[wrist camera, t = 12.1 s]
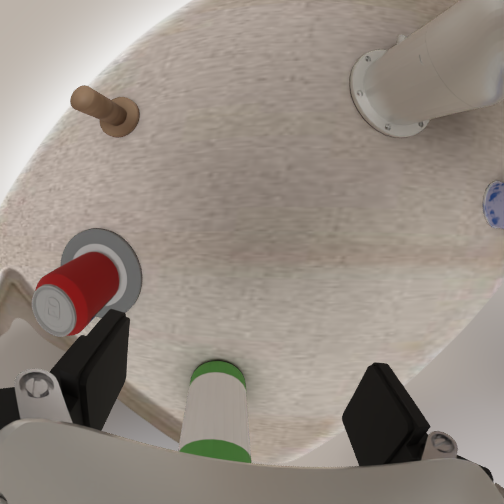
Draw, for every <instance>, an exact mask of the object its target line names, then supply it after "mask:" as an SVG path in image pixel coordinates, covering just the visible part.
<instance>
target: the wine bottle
mask: <svg viewBox="0 0 504 504" xmlns="http://www.w3.org/2000/svg"><path fill="white" fill-rule="evenodd" d="M178 451H179V452H183V453H188V454H193V455H198V456H204V457H209V458H215V459H222V460H229V461H236V462H244V463H251V450H250V437H249V423H248V410H247V396H246V385H245V379H244V377H243V375H242V373H241V372H240V371H239V370H238V369H237V368H236V367H235V366H233V365H232V364H229V363H226V362H222V361H211V362H208V363H204V364H203V365H201V366H199V367H198V368H197V369H196V370H195V371H194V373H193V375H192V377H191V381H190V386H189V391H188V396H187V402H186V408H185V413H184V419H183V425H182V431H181V437H180V443H179V449H178Z"/></svg>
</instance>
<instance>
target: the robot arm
mask: <svg viewBox="0 0 504 504" xmlns="http://www.w3.org/2000/svg"><path fill="white" fill-rule="evenodd" d="M396 43H397V44H396V45H395V46H393V47H392V48H390V49H389V50H386V49H378V50H373V51H370V52H368V53H366V54H364V55H363V56H362V57H361V58H360V59H359V60H358V61H357V62H356V63H355V65H354V67H353V69H352V72H351V76H350V89H351V94H352V97H353V100H354V103H355V105H356V107H357V109H358V111H359V112H360V114H361V115H362V116H363V118H364V119H365V120H366V121H367V122H368V123H369V124H370V125H371V126H372V127H374V128H375V129H376V130H378V131H380V132H381V133H383V134H385V135H388V136H392V137H398V138H403V137H410V136H414V135H416V134H418V133H420V132H421V131H422V130H423V129H424V128H425V127H426V126H427V124H428V123H429V121H430V119H434V118H438V117H442V116H446V115H451V114H455V113H460V112H464V111H469V110H474V109H479V108H484V107H488V106H492V105H495V104H498V103H499V102H501V101H503V100H504V0H460V1H458V2H457V3H455V4H454V5H453V6H451V7H450V8H449V9H447V10H446V11H445V12H443V13H442V14H440V15H439V16H437V17H436V18H434V19H433V20H432V21H430V22H429V23H427V24H426V25H424V26H423V27H421V28H420V29H419V30H417V31H416V32H414V33H413V34H411V35H410V36H409V37H406V36H404V35H401V34H400V35H398V36H397V42H396ZM357 94H359V96H358V95H357ZM385 127H386V129H385ZM129 325H130V319H129V318H127V317H126V314H125V313H124V312H121V311H117V310H114V309H110V310H109V311H108V312H107V313H106V314H105V315H104V316H103V317H102V319H101V320H100V321H99V322H98V323H97V324H96V326H95V327H94V328H93V329H92V330H91V331H90V333H89V334H88V335H87V336H84V335H81V336H80V337H79V338H78V339H77V340H76V341H75V342H74V344H73V345H72V346H71V347H70V348H69V349H68V351H67V352H66V353H65V354H64V355H63V356H62V358H61V359H60V360H59V361H58V362H57V364H56V365H55V366H54V367H53V368H52V369H51V371H50V372H47V371H45V370H41V369H28V370H25V371H23V372H21V373H20V374H19V375H18V376H17V377H16V379H15V387H12V388H3V389H0V504H504V488H503V487H501V486H500V485H499V484H497V483H495V484H494V483H493V477H492V474H491V472H490V470H489V469H487V468H485V467H482V466H480V465H478V464H476V463H474V462H471V461H469V460H467V459H465V458H463V457H461V456H458V455H457V450H458V448H457V444H456V442H455V440H454V439H453V438H452V437H451V436H449V435H448V434H446V433H444V432H440V431H434V432H431V433H430V434H429V435H428V434H427V433H426V432H427V431H428V429H429V428H430V425H429V423H428V422H427V421H426V419H425V417H424V416H423V414H422V413H421V411H420V410H419V408H418V407H417V406H416V404H415V403H414V401H413V400H412V398H411V397H410V395H409V394H408V392H407V391H406V390H405V388H404V386H403V385H402V384H401V382H400V381H399V379H398V378H397V376H396V375H395V374H394V372H393V371H392V369H391V368H390V366H389V365H388V364H385V363H373V364H372V365H371V366H369V367H368V368H367V370H366V372H365V374H364V376H363V378H362V380H361V382H360V383H359V385H358V387H357V389H356V391H355V393H354V395H353V397H352V398H351V400H350V402H349V404H348V406H347V407H346V409H345V411H344V413H343V416H342V421H343V424H344V426H345V429H346V432H347V434H348V437H349V439H350V442H351V445H352V448H353V450H354V453H355V456H356V458H357V461H358V463H359V466H357V467H356V466H355V467H292V466H276V465H264V464H253V463H244V462H236V461H229V460H222V459H215V458H209V457H204V456H198V455H193V454H188V453H183V452H179V451H174V450H169V449H165V448H161V447H157V446H153V445H149V444H145V443H142V442H138V441H134V440H130V439H127V438H124V437H120V436H117V435H113V434H110V433H107V432H103V431H101V430H102V428H103V426H104V424H105V422H106V420H107V418H108V416H109V413H110V411H111V409H112V407H113V405H114V403H115V401H116V399H117V397H118V395H119V393H120V391H121V389H122V387H123V385H124V382H125V379H126V370H127V352H128V337H129ZM6 501H7V502H8V503H7V502H6Z"/></svg>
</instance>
